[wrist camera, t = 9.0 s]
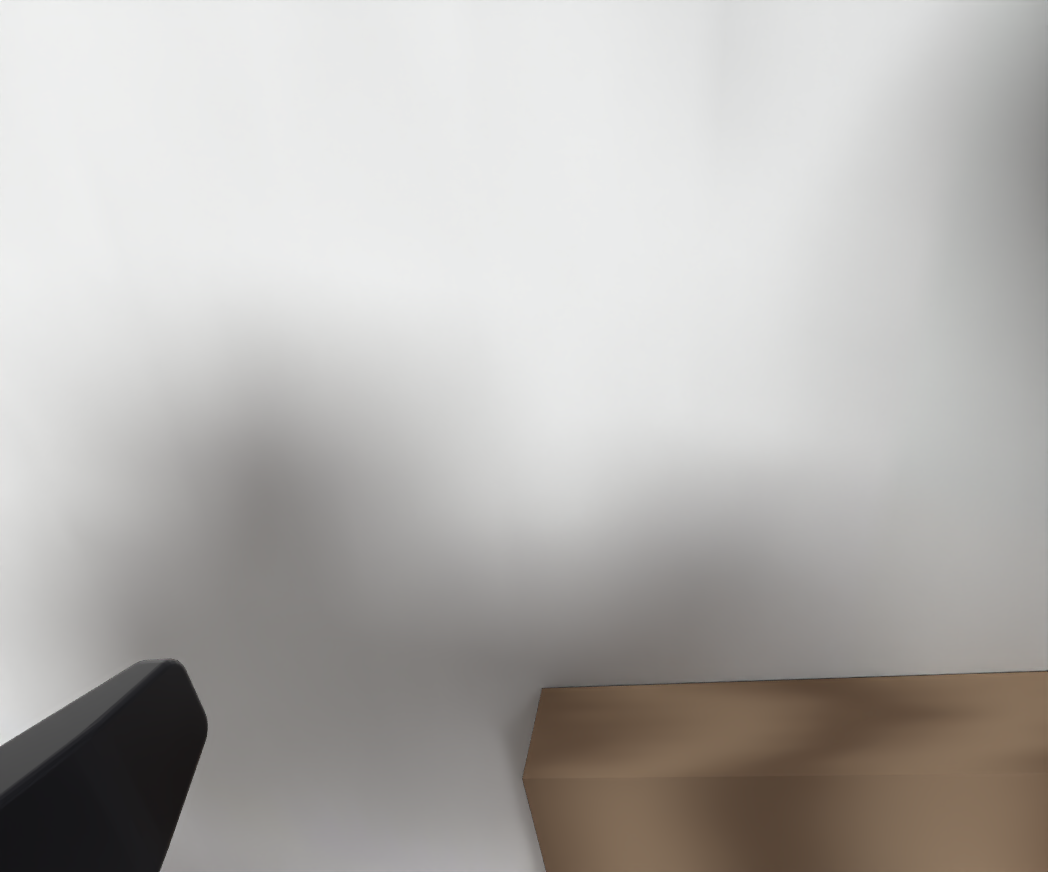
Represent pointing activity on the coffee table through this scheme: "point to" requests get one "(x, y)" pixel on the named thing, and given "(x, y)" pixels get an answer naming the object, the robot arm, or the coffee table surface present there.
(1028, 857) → the walnut plinth
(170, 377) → the coffee table surface
